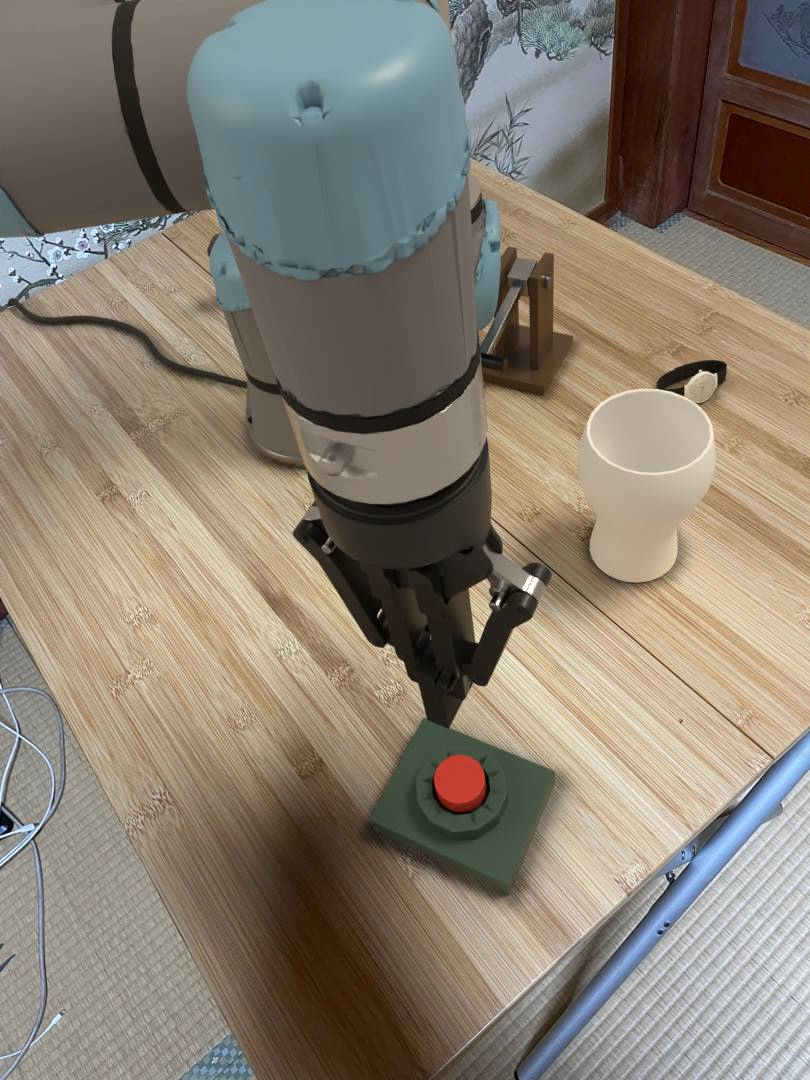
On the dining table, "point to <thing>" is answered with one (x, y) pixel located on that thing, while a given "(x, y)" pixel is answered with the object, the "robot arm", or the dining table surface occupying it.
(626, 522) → the cup
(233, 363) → the dining table surface
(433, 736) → the button box
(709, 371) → the watch
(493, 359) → the lever
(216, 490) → the dining table surface
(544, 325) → the bracket
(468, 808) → the button
